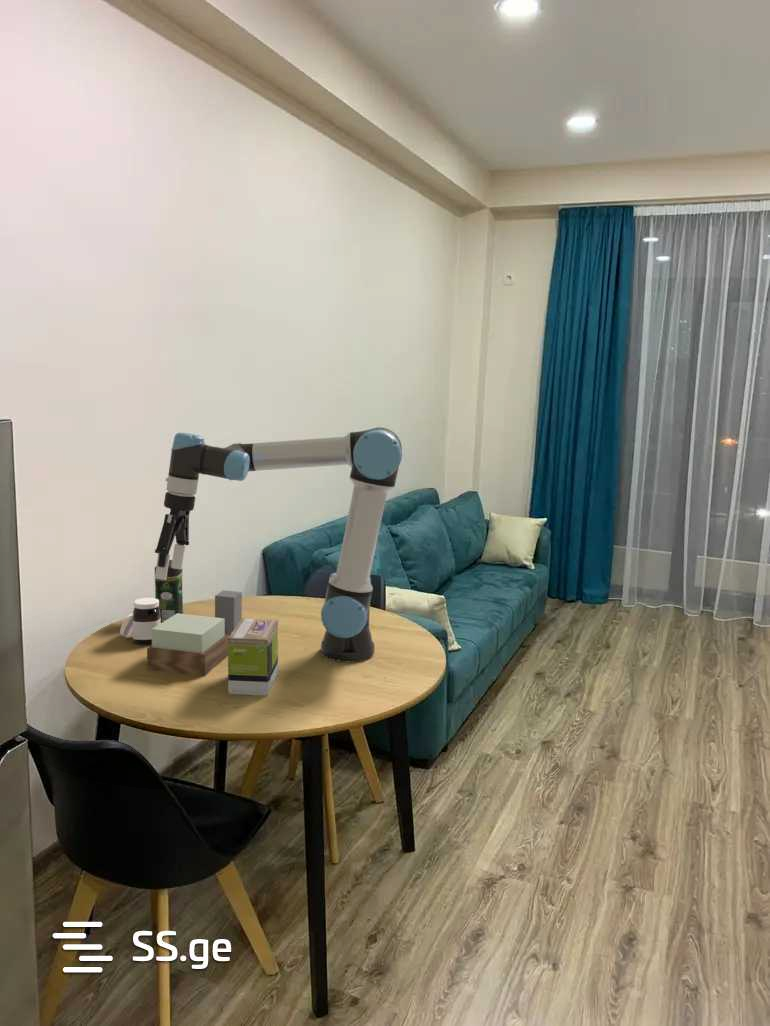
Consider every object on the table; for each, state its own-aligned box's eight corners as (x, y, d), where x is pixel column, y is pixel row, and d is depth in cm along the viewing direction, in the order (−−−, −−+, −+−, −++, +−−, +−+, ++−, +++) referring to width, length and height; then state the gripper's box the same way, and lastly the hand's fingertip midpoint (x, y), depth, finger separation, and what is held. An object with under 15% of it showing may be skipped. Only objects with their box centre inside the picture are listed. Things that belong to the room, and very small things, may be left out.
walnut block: (229, 656, 209) (229, 635, 208) (205, 677, 194) (205, 655, 192) (175, 649, 212) (175, 629, 211) (147, 670, 196) (147, 648, 195)
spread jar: (160, 645, 214) (159, 605, 212) (117, 647, 211) (117, 607, 209) (161, 631, 225) (161, 593, 223) (121, 633, 222) (121, 594, 220)
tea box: (240, 671, 198) (241, 616, 195) (278, 673, 197) (279, 618, 195) (226, 694, 183) (227, 636, 180) (268, 697, 183) (269, 638, 180)
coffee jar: (160, 614, 241) (159, 557, 238) (185, 615, 241) (185, 558, 238) (152, 624, 231) (151, 565, 228) (178, 624, 232) (177, 565, 229)
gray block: (241, 630, 229) (241, 592, 227) (233, 636, 223) (234, 597, 221) (222, 628, 230) (223, 590, 228) (214, 634, 224) (215, 595, 222)
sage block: (224, 636, 207) (224, 618, 206) (202, 653, 194) (202, 634, 193) (177, 630, 210) (177, 613, 209) (151, 647, 196) (151, 629, 196)
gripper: (180, 486, 206) (169, 562, 209) (150, 495, 181) (137, 581, 184) (207, 491, 206) (195, 566, 209) (181, 501, 181) (168, 586, 184)
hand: (168, 573), depth 196 cm, fingers open, 13 cm apart
